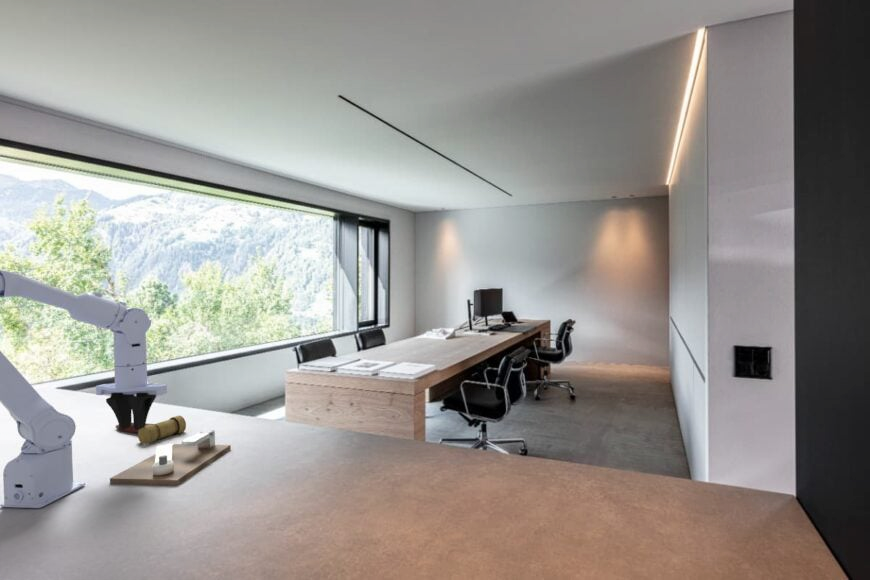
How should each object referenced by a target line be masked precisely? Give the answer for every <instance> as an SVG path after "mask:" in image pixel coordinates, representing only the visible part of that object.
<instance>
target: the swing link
mask: <svg viewBox="0 0 870 580" xmlns="http://www.w3.org/2000/svg"><path fill="white" fill-rule="evenodd" d="M172 445H173V443H167V444H162V445H157V446H156V449H155V454H156V457H155V464H153V475H164V474H168V473H170V472H172V471H173V470H174V462H173V461H172V453H173V449H172Z"/></svg>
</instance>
